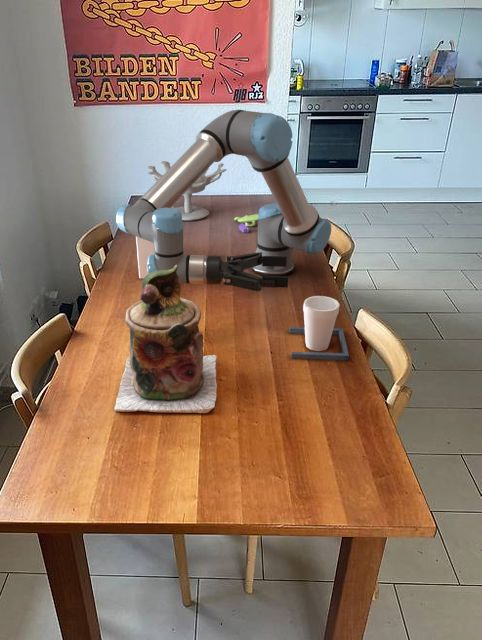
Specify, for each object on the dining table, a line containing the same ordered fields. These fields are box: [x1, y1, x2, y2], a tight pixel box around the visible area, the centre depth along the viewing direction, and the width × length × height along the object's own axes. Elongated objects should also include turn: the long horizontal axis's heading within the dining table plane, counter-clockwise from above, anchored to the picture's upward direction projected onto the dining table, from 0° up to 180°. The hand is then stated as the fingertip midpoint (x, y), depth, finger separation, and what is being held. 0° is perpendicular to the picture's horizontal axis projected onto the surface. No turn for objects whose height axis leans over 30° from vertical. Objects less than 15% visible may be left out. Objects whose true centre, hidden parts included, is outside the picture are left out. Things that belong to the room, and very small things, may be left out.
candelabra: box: [147, 160, 227, 222], centre depth 255 cm, size 34×35×27 cm
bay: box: [289, 326, 350, 361], centre depth 162 cm, size 15×15×2 cm
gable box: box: [135, 205, 176, 280], centre depth 205 cm, size 22×13×28 cm, turn 179°
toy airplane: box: [233, 213, 259, 234], centre depth 246 cm, size 18×27×6 cm
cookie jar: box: [114, 265, 218, 414], centre depth 138 cm, size 25×25×32 cm
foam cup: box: [302, 295, 340, 352], centre depth 159 cm, size 10×9×13 cm
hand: (287, 271), depth 152 cm, fingers open, 13 cm apart
